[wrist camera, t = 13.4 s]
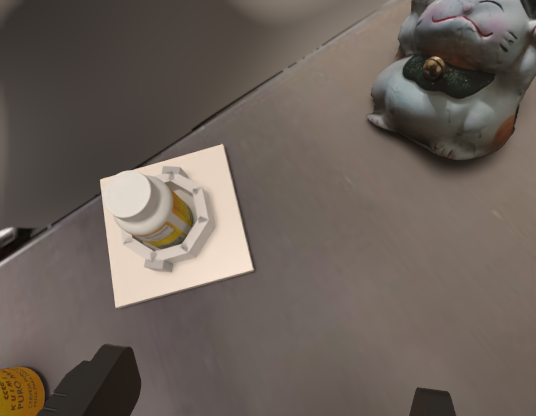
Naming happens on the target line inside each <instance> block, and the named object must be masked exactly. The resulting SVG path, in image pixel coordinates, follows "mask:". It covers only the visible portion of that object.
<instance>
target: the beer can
mask: <svg viewBox="0 0 536 416" xmlns="http://www.w3.org/2000/svg"><path fill="white" fill-rule="evenodd" d="M44 400H45V391H44V386H43V384H42V382H41V380H40V378H39V376H38V375H37V374H36V373H35V372H34V371H32V370H31V369H28V368H25V367H13V368H5V369H0V416H36V415H37V413H38V412H39V411H40V410H42V408H43V405H44Z"/></svg>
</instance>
